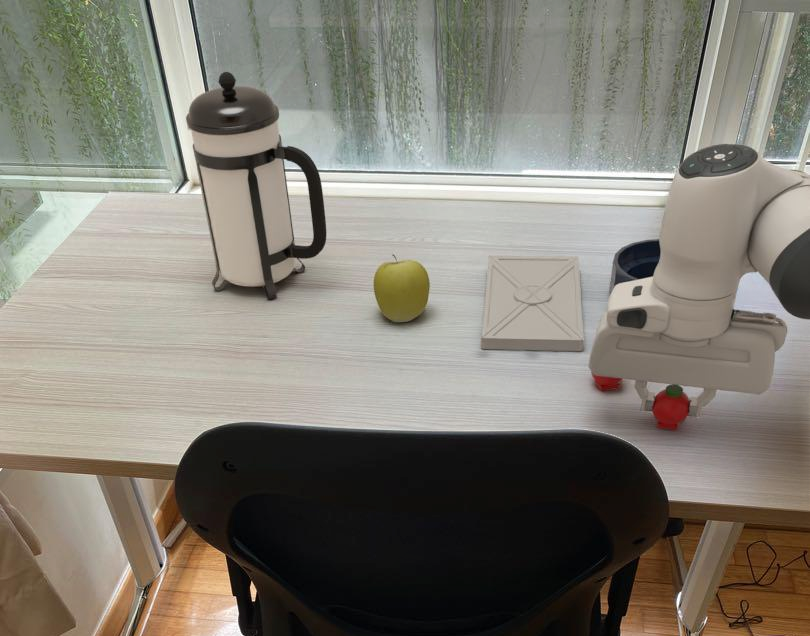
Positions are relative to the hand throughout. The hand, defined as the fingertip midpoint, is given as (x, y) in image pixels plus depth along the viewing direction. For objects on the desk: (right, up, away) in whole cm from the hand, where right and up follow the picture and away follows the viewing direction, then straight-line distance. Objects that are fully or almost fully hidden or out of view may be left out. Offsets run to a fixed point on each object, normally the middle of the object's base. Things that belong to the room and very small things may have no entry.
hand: (669, 411), depth 104 cm
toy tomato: (0, -1, +1) cm, 2 cm away
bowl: (+6, +20, +24) cm, 32 cm away
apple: (-32, +18, +24) cm, 44 cm away
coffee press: (-53, +25, +33) cm, 68 cm away
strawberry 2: (-6, +5, +8) cm, 11 cm away
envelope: (-13, +19, +24) cm, 33 cm away
